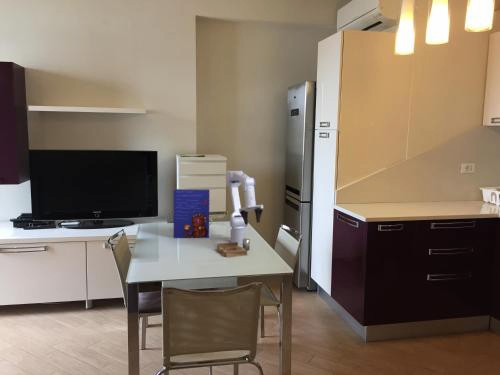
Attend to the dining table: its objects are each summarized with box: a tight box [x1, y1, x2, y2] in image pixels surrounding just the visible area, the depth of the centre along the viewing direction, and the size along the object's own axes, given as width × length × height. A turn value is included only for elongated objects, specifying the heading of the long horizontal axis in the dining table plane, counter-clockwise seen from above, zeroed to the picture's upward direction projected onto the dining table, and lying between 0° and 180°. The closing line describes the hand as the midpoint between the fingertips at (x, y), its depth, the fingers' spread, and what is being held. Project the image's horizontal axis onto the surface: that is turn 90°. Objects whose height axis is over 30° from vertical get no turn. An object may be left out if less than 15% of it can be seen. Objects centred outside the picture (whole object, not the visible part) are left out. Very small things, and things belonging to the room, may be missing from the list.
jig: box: [216, 242, 248, 258], centre depth 241 cm, size 14×12×4 cm
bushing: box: [242, 238, 251, 252], centre depth 248 cm, size 4×4×6 cm
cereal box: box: [173, 188, 210, 239], centre depth 273 cm, size 22×6×30 cm, turn 96°
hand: (252, 223), depth 241 cm, fingers open, 7 cm apart
